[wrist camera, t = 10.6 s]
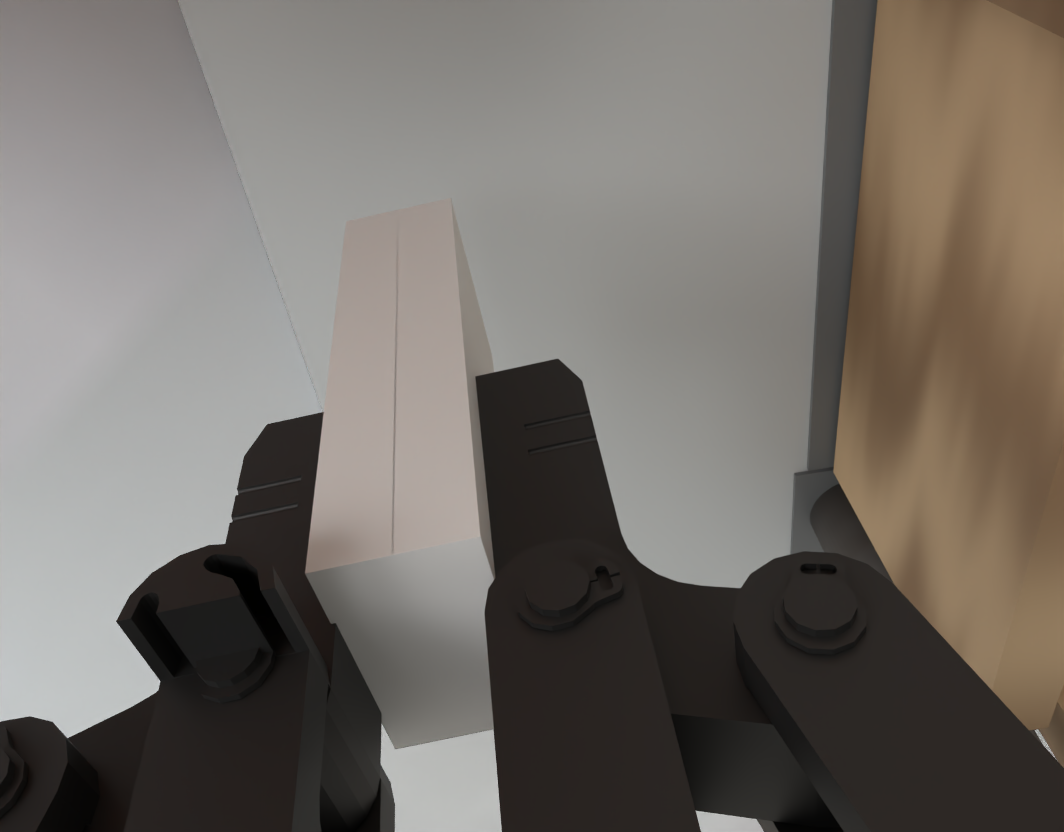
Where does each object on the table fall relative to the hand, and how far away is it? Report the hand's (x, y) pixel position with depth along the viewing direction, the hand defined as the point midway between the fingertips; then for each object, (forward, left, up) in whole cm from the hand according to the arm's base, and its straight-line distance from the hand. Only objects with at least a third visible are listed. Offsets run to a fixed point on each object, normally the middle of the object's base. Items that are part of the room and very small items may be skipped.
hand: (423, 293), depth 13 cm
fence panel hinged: (+2, +8, -4) cm, 9 cm away
